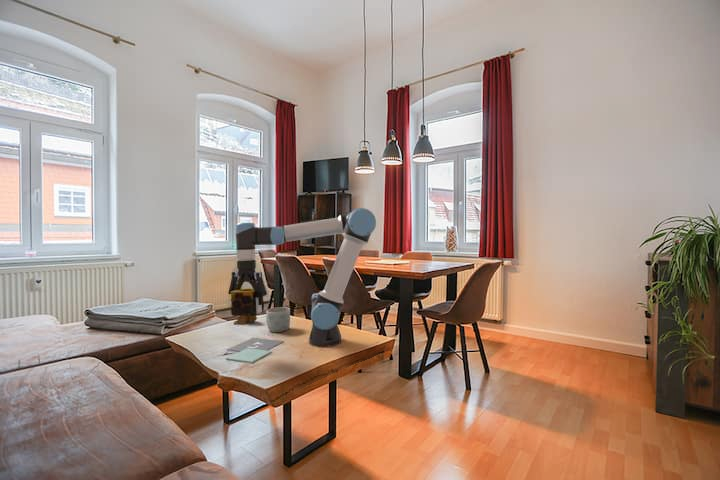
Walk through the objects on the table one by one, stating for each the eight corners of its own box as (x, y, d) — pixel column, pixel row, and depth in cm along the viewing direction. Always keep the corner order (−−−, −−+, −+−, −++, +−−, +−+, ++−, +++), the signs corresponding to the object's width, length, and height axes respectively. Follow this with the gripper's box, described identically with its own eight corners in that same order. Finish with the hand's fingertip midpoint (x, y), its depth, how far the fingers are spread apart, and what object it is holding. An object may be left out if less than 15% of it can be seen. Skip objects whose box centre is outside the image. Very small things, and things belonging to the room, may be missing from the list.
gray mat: (283, 341, 169) (283, 341, 169) (259, 354, 152) (259, 353, 152) (253, 338, 176) (253, 337, 176) (226, 350, 159) (226, 349, 159)
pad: (271, 352, 154) (271, 351, 154) (252, 363, 142) (251, 361, 142) (247, 349, 159) (247, 348, 159) (226, 359, 147) (226, 358, 147)
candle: (253, 316, 144) (252, 291, 144) (230, 315, 146) (229, 291, 146) (264, 310, 154) (264, 287, 154) (243, 310, 156) (242, 287, 156)
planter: (287, 333, 183) (287, 312, 182) (263, 333, 183) (263, 312, 182) (292, 326, 195) (292, 306, 195) (270, 327, 195) (269, 307, 195)
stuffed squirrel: (240, 319, 213) (239, 298, 213) (261, 320, 210) (260, 298, 210) (230, 324, 204) (229, 301, 203) (252, 325, 200) (252, 302, 200)
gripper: (274, 259, 148) (276, 311, 149) (230, 258, 157) (232, 308, 158) (263, 260, 141) (265, 315, 142) (218, 260, 150) (219, 311, 151)
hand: (248, 311), depth 150 cm, fingers closed on candle, 11 cm apart
